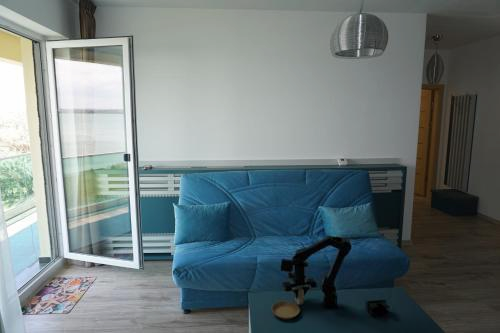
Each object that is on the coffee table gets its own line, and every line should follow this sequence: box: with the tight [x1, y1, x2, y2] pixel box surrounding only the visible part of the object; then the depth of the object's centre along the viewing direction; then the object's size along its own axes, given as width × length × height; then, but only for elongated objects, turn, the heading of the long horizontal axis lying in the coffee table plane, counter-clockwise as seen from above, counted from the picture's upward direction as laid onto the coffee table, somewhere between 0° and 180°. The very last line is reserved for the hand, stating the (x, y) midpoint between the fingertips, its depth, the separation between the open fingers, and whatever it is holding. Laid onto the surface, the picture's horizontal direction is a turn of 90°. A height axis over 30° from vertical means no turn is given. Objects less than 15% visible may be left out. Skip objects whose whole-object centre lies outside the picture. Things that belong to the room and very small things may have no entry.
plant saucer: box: [271, 300, 301, 320], centre depth 175 cm, size 15×15×3 cm
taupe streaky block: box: [294, 286, 305, 305], centre depth 185 cm, size 3×5×8 cm, turn 15°
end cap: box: [364, 298, 390, 318], centre depth 174 cm, size 10×7×7 cm
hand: (299, 298), depth 186 cm, fingers closed on taupe streaky block, 3 cm apart
